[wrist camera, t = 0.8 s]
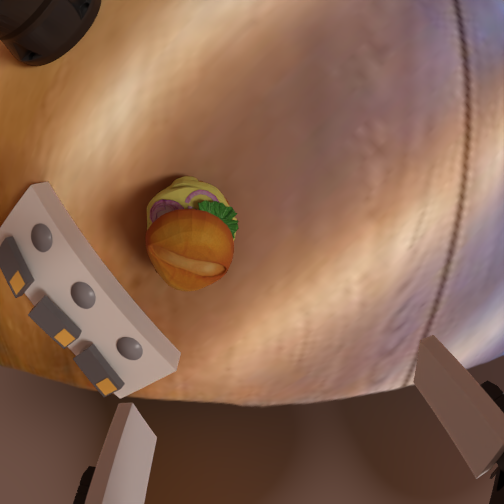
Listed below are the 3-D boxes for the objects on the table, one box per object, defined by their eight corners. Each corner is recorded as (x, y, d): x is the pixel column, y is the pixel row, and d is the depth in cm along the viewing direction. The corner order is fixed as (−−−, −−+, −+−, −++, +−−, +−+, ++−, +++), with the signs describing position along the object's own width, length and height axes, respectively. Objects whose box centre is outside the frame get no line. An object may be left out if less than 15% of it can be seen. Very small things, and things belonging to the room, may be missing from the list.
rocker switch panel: (7, 233, 32) (-10, 241, 28) (48, 181, 31) (30, 184, 27) (126, 382, 41) (119, 399, 37) (180, 352, 39) (176, 371, 35)
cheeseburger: (231, 165, 32) (234, 196, 24) (242, 247, 38) (249, 298, 29) (144, 180, 32) (118, 216, 23) (165, 258, 37) (152, 310, 29)
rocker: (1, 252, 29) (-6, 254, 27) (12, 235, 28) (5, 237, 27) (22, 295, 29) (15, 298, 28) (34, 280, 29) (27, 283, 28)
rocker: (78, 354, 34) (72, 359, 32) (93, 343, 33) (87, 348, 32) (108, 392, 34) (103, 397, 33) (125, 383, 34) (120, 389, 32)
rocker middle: (32, 308, 30) (27, 315, 29) (45, 294, 30) (40, 301, 28) (67, 342, 33) (63, 349, 32) (81, 330, 33) (78, 338, 31)
